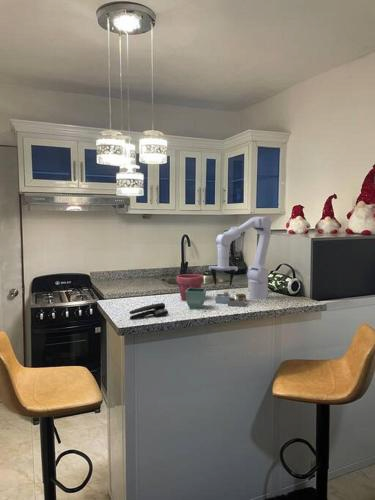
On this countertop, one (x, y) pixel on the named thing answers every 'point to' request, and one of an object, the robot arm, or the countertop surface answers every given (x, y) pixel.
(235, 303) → the tray
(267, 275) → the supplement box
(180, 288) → the plant pot
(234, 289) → the countertop surface
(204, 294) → the flower pot
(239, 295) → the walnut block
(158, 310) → the can opener
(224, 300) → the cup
